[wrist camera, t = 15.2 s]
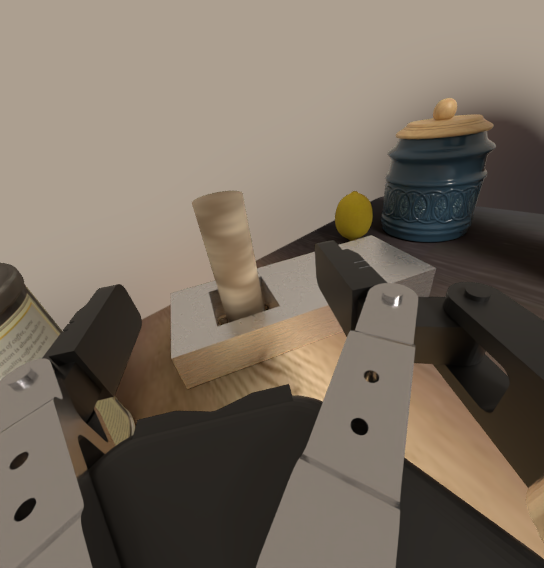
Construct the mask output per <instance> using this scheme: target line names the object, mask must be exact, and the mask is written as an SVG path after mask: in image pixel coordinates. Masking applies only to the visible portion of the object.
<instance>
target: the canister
mask: <svg viewBox="0 0 544 568" xmlns="http://www.w3.org/2000/svg"><path fill="white" fill-rule="evenodd" d="M456 110H457V103H456V101H455V100H454V99H452V98H447V99H443V100H441V101H440V102H439V103H438V104H437V105H436V107H435V109H434V112H433V117H434V118H433V119H426V120H421V121H415V122H411V123H409V124H408V125H407V126H406V127H405V128H404V129H402V130H401V131H399V132H398V133H397V134H396V137H397V138H399V140H398V143H397V145H396V146H395V147H394V148H392V149H391V150H390V151H389V152H388V157H389V158H390V159H391V163H390V168H389V172H388V173H387V174H386V175H385V179H386V185H385V195H384V203H383V210H382V212H381V222H382V229H383V230H384V231H385V232H386V233H388V234H389V235H392V236H394V237H397V238H400V239H404V240H409V241H417V242H441V241H448V240H452V239H456V238H458V237H461V236H463V235H464V234H465V233H466V232H467V230H468V228H469V226H470V225H471V224H472V220H473V218H474V209H475V206H476V203H477V199H478V196H479V193H480V189H481V186H482V183H483V180H484V178H485V177H486V176H487V171H486V170H485V163H486V159H487V155H488V154H489V153H490V152H491V151H493V150H494V149H495V147H496V145H495V144H494V143H493V142H492V141H490V140H489V139H488V137H487V131H488V130H490V129H492V127H493V124H492V123H490V122H489V121H487V120H485V119H484V118H483V116H482V115H460V116H454V115H455V113H456Z"/></svg>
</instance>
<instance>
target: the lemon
mask: <svg viewBox="0 0 544 568" xmlns="http://www.w3.org/2000/svg"><path fill="white" fill-rule="evenodd" d="M372 217H373V214H372V207H371V203H370V201H369V200H368V199H367V197H365V196H364V195H362V194H360V193H358V192H357V191H353V192H352V193H351V194H349V195H346V196H345V197H344V198H343V199H342V200H341V201H340V202H339V204H338V207H337V209H336V214H335V224H336V228H337V230H338V232H339V233H340V234H341V235H342V236H343V237H345V238H347V239H349V240H350V241H354V240H356V239H357V238H360V237H362V236H363V235H365V234H366V233H367V231H368V230H369V228H370V226H371V223H372Z"/></svg>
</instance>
